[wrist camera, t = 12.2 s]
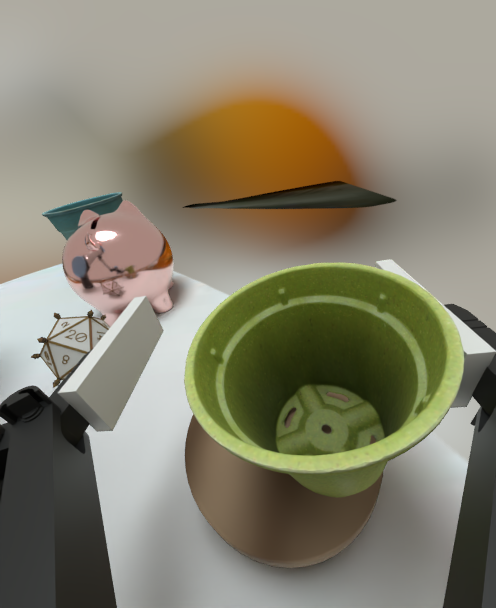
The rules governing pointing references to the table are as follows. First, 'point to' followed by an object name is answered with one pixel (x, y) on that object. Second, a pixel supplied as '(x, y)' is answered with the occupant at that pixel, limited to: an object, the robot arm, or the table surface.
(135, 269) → the piggy bank
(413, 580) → the table surface
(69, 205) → the flower pot
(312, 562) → the stand
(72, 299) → the table surface
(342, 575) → the table surface
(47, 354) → the game die
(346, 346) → the plant pot
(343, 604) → the table surface
